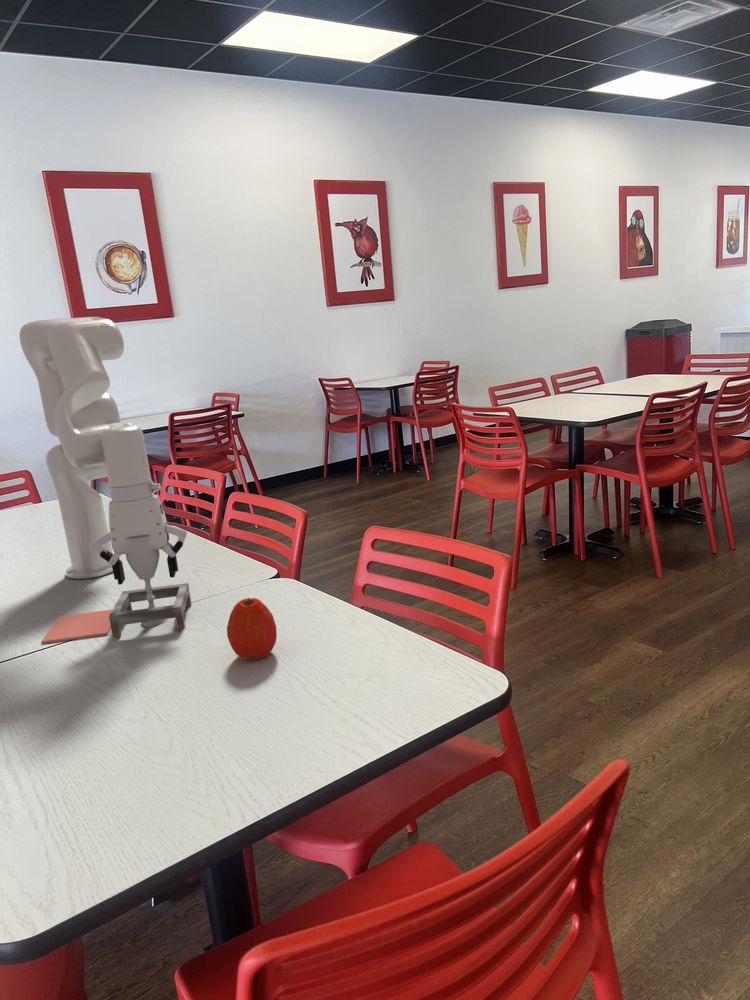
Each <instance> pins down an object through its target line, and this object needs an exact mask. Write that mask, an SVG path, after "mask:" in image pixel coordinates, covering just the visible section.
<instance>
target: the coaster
mask: <svg viewBox="0 0 750 1000" xmlns="http://www.w3.org/2000/svg"><path fill="white" fill-rule="evenodd" d="M112 610H113V608H112V609H106V610H100V611H99V610H98V611H92V612H91V611H88V612H83V613H75V614H69V615H61V616H58V617H57V619H56V621H54V623H53V624H52V626H51V627H50V629H49V630H48V631H47V632H46V634H45V636H44V637H43V638H42V640H41V641H40V642H41V644H42V645H43V644H50V643H51V644H52V643H59V642H65V641H71V640H74V641H75V640H81V639H88V638H95V637H102V636H108V635H109V633H110V632H111V631H112V630H111V625H110V620H109V615H110V614H111V612H112Z"/></svg>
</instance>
